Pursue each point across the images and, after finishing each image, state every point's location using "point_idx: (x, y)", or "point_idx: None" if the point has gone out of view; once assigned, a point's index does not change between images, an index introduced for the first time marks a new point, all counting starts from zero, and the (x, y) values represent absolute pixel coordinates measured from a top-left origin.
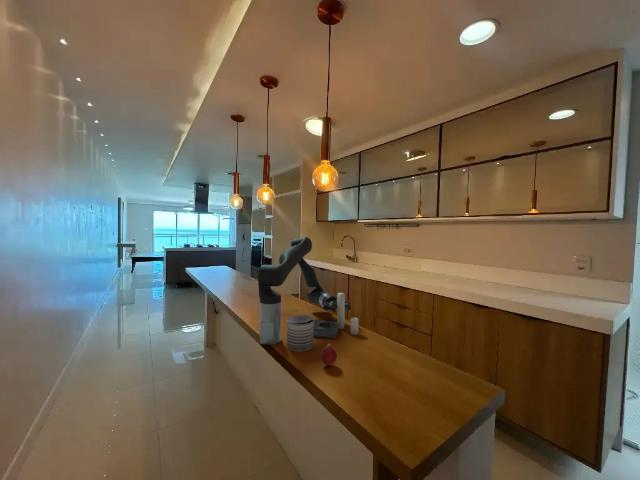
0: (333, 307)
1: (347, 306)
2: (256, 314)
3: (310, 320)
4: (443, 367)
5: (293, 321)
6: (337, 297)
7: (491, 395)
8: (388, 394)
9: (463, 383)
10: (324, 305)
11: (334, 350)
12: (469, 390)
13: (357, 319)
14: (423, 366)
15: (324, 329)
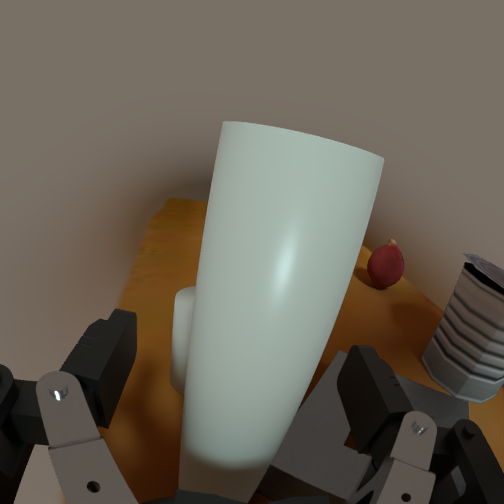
0: (378, 360)
1: (118, 362)
2: None
3: (480, 298)
4: (162, 216)
5: None
6: (361, 242)
7: (183, 199)
8: None
9: (185, 207)
10: (488, 457)
11: (378, 248)
12: (195, 205)
13: (195, 287)
14: (189, 226)
15: (398, 375)
